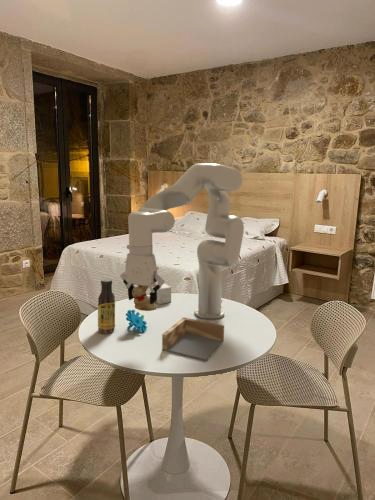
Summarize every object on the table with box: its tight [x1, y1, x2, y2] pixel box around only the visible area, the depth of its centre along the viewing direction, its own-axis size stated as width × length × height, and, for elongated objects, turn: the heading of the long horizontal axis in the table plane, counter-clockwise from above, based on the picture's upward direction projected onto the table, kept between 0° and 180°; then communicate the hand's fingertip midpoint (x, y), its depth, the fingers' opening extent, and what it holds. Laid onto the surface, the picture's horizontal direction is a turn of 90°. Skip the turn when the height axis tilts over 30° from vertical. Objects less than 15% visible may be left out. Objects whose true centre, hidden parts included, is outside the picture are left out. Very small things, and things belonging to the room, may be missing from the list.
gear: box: [125, 309, 148, 333], centre depth 140 cm, size 11×6×10 cm
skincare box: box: [155, 283, 172, 305], centre depth 169 cm, size 6×6×7 cm
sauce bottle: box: [97, 278, 116, 334], centre depth 136 cm, size 6×6×20 cm
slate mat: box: [163, 333, 224, 362], centre depth 128 cm, size 16×16×1 cm
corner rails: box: [161, 316, 225, 352], centre depth 127 cm, size 16×16×6 cm
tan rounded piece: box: [132, 285, 157, 312], centre depth 124 cm, size 6×8×10 cm
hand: (142, 300), depth 124 cm, fingers closed on tan rounded piece, 7 cm apart
